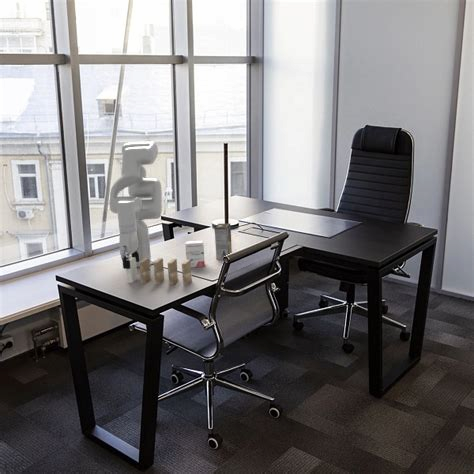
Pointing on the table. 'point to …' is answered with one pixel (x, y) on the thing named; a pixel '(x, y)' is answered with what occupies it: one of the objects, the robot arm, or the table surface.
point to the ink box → (195, 253)
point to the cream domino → (132, 270)
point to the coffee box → (223, 240)
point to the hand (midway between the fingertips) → (131, 265)
